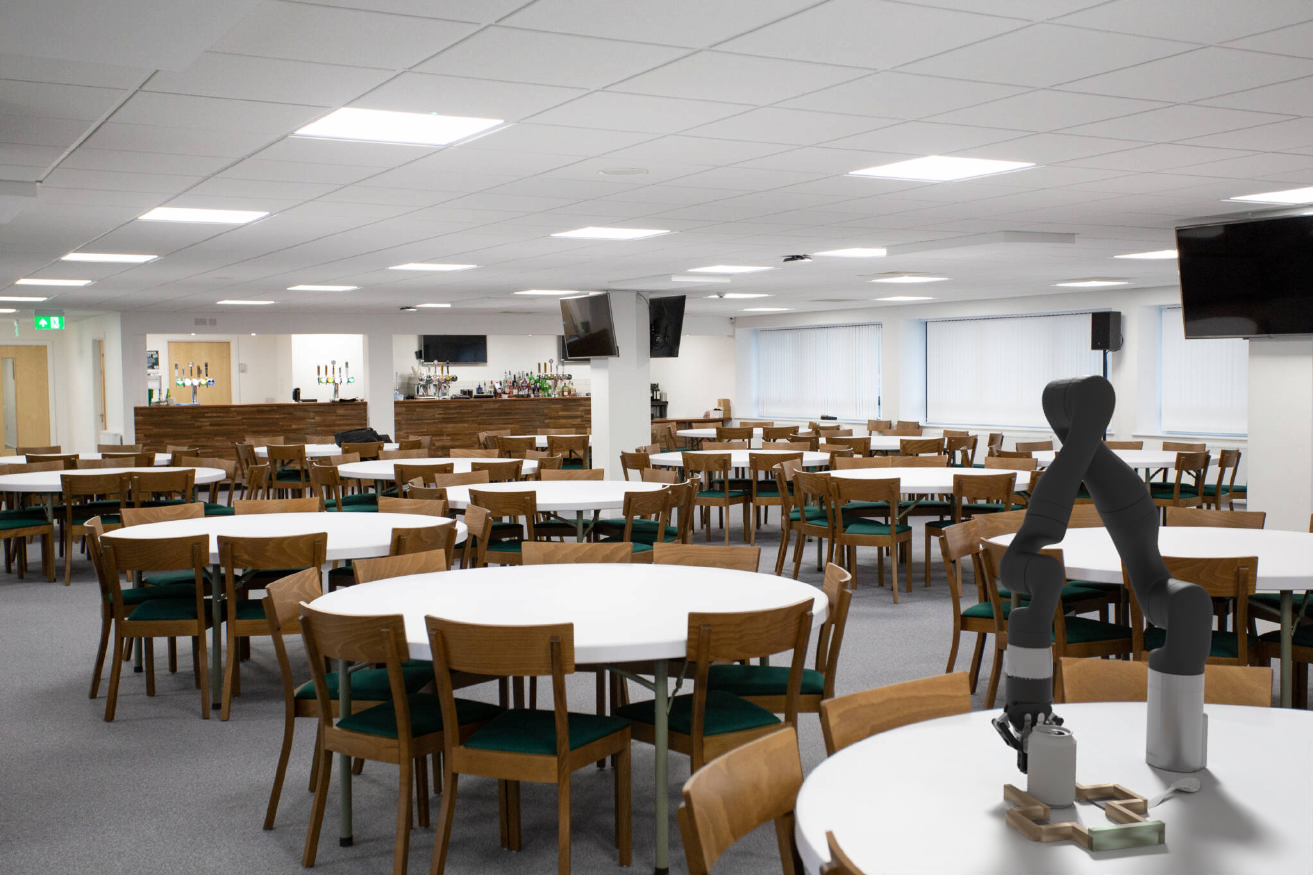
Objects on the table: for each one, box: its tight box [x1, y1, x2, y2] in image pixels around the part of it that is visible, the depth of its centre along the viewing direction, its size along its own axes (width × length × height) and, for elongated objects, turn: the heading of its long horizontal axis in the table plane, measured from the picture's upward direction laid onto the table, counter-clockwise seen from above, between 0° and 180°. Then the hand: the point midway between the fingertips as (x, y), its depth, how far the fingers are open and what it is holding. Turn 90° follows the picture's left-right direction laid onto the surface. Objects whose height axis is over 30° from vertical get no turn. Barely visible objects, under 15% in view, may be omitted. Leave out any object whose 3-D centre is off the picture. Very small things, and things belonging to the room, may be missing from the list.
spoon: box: [1148, 777, 1201, 809], centre depth 185 cm, size 4×21×2 cm, turn 129°
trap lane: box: [1003, 781, 1166, 852], centre depth 175 cm, size 25×23×3 cm
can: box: [1026, 725, 1077, 809], centre depth 182 cm, size 8×8×12 cm
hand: (1026, 772), depth 189 cm, fingers closed
